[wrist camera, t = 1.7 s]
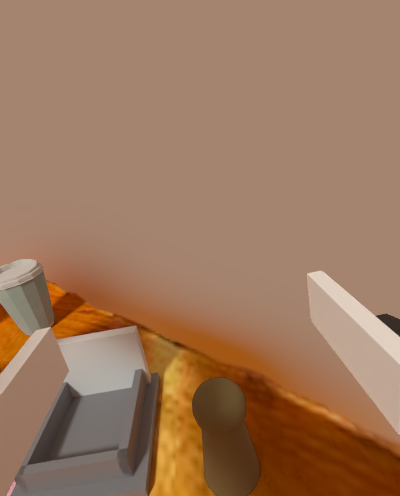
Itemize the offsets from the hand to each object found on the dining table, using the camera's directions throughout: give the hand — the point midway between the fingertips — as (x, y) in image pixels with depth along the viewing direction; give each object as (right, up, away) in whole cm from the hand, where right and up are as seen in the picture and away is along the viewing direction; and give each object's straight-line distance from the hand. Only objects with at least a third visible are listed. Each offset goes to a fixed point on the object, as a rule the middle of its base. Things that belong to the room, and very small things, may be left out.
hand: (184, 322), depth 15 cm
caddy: (-12, -21, +23) cm, 33 cm away
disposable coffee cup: (-35, -14, +51) cm, 64 cm away
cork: (+4, -20, +17) cm, 27 cm away
